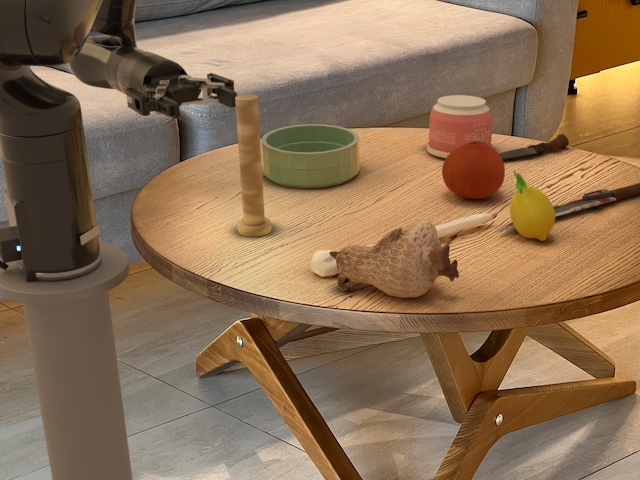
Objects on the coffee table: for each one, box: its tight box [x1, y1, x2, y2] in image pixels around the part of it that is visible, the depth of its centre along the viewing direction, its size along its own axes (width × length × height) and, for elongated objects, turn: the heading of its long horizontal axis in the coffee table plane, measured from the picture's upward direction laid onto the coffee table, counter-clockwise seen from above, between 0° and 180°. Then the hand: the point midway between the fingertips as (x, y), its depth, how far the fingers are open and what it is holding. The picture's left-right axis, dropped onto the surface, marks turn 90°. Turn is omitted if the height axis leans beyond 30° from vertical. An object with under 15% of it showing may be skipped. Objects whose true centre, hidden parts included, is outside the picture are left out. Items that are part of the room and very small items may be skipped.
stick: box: [235, 93, 272, 238], centre depth 141 cm, size 4×4×18 cm
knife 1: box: [498, 133, 570, 160], centre depth 172 cm, size 17×2×5 cm
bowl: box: [260, 123, 361, 189], centre depth 164 cm, size 14×14×6 cm
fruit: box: [441, 141, 506, 200], centre depth 154 cm, size 9×9×8 cm
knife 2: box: [495, 182, 640, 234], centre depth 150 cm, size 3×2×30 cm
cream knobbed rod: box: [310, 212, 493, 278], centre depth 139 cm, size 28×4×3 cm, turn 128°
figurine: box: [330, 219, 460, 299], centre depth 127 cm, size 9×10×15 cm
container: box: [426, 94, 494, 159], centre depth 172 cm, size 10×10×8 cm
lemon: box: [509, 170, 556, 242], centre depth 141 cm, size 7×6×10 cm
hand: (206, 105), depth 146 cm, fingers open, 8 cm apart
